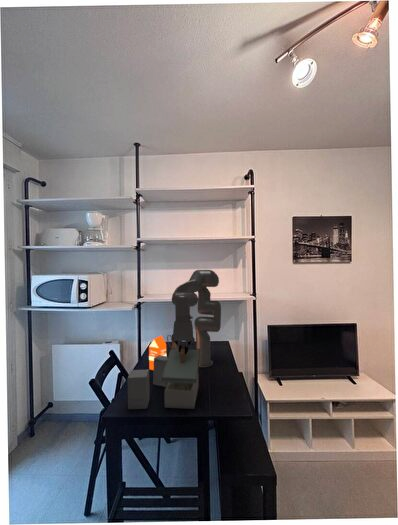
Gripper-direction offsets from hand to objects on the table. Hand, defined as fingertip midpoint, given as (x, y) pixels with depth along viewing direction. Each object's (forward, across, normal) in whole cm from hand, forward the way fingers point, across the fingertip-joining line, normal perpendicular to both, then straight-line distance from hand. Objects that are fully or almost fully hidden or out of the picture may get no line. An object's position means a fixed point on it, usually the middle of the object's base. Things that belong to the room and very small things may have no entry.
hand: (183, 353), depth 131 cm
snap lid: (+5, 0, +3) cm, 6 cm away
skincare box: (+21, +14, -9) cm, 27 cm away
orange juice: (+22, +22, -30) cm, 43 cm away
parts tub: (+21, 0, +4) cm, 21 cm away
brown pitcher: (+22, +16, -54) cm, 61 cm away
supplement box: (+21, +20, +12) cm, 31 cm away
